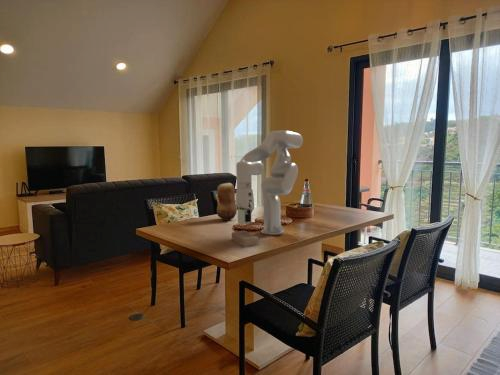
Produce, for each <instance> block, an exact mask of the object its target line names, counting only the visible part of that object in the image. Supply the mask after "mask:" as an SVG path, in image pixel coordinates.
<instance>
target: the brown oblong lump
mask: <svg viewBox="0 0 500 375" xmlns="http://www.w3.org/2000/svg"><path fill="white" fill-rule="evenodd" d="M235 191H236V190H235V186H234V184H233V183H231V182H225V183H221V184H219V185H218V186H217V199H218V204H217V206H216V215H217V216H218V218H220V219H222V220H223V221H230V220H233V219H234V218H235V216H236V215H237V214H238V210H237V207H236V192H235Z"/></svg>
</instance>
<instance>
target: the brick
mask: <svg viewBox="0 0 500 375" xmlns="http://www.w3.org/2000/svg"><path fill="white" fill-rule="evenodd" d="M231 240H232V241H233V242H235V243H236V244H238V245H240V246H242V247H244V248H249V247H256V246H259V243H260V242H259V237H258V236H257V235H254V234H251V233H250V232H249V231H247V230H239V231H234V232H231Z"/></svg>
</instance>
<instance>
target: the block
mask: <svg viewBox="0 0 500 375" xmlns="http://www.w3.org/2000/svg"><path fill="white" fill-rule="evenodd" d="M247 210H249V209H247ZM245 214H246V211H245V209H244V208H241V209H238V210H237V223H238V224H241V225H246V224H252V221H251V222H245Z"/></svg>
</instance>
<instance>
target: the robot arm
mask: <svg viewBox="0 0 500 375" xmlns="http://www.w3.org/2000/svg"><path fill="white" fill-rule="evenodd" d="M303 143H304V139H303V136H302V135H301V134H300V133H298V132H294V131H291V130H273V131H270V132H269V133H268V134H267V135H266V137H265V138H264V140H263V141H262V142H261V144H260V145H258V146H257V147H254V148H253V149H251V150H250V151H248V152H246V154H244V156H243V157H242V158H241V159H240V160H239V161H238V162H237V163H236V167H235V168H236V192H235V204H236V208H237V211H238V209H242V208H244V209H245V211H246V214H245V222H251V223H252V213H253V211H254V210H255V198H254V191H253V188H252V186H253V185H252V176H259V175H262V174H263V172H264V171H265V165H264V163H263V162H262V161H263V160H267V159H268V158H269V159H270V158H271V157H272V156H273V155H274V153H275V151H276V156H275V160H274V162H273V164H272V166H271V169H270V175H271V176H268V177H265V178H264V179H262V181H261V184H260V185H261V186H260V188H261V192H262V197H263V199H262V200H263V229H261V234H263V235H270V236H274V235H275V236H277V235H282V234H283V233H284V231H285V228H284V227H283V226H282V224H281V222H282V220H281V218H282V216H281V215H282V214H281V199H280V196H287V195H289V194H290V193H291V192H292V190H293V187H294V185H295V183H296V181H297V178H298V175H299V168H298V165H297V164H296V163H295V162H291V160H292V157H291V154H290V152H289V150H288V149H300V148H301V147H302V146H303ZM247 209H249V210H247Z"/></svg>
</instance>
